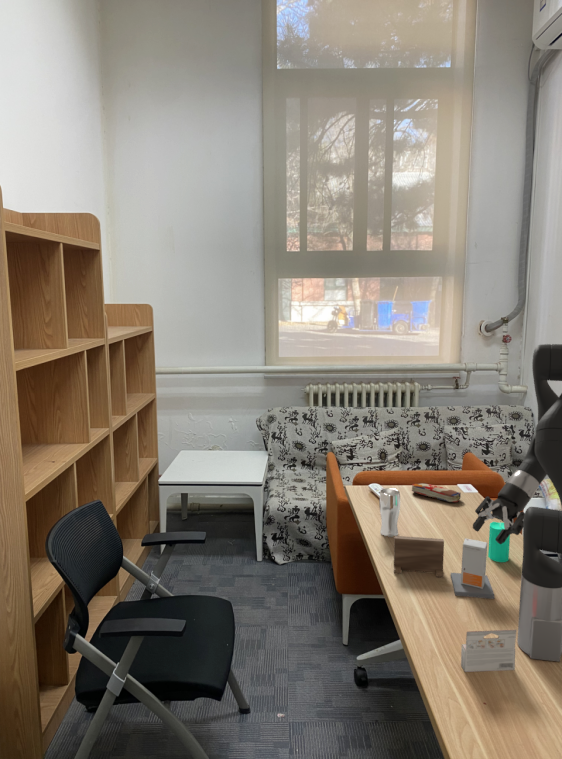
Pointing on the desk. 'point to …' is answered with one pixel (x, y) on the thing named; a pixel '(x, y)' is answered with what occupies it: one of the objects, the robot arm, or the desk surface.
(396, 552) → the walnut screen
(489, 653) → the ink cartridge box
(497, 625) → the desk surface
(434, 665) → the desk surface
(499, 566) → the desk surface
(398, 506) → the beer glass
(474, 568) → the skincare box
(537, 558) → the robot arm
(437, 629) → the desk surface
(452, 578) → the grey mat
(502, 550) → the candle
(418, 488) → the paperback book
